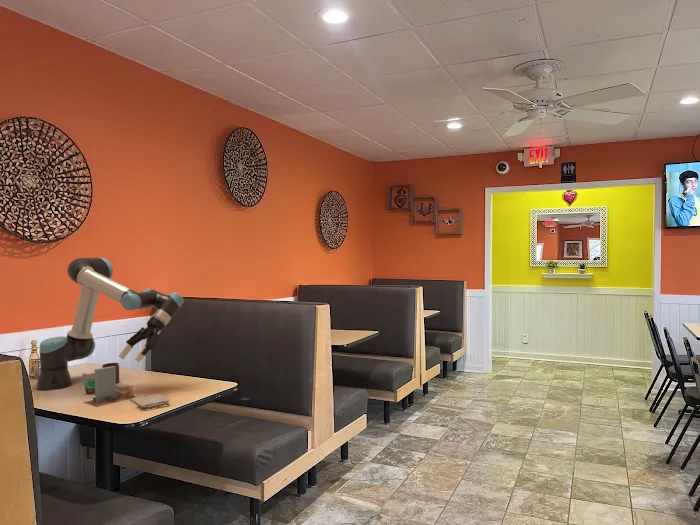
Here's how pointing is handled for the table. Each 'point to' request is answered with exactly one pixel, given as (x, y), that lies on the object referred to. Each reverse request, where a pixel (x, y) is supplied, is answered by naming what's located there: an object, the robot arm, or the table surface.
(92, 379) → the food container
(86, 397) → the table surface
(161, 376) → the table surface
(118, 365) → the mug
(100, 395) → the tall panel
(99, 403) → the brown rectangular board
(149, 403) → the washcloth
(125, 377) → the table surface
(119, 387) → the offcut stack
